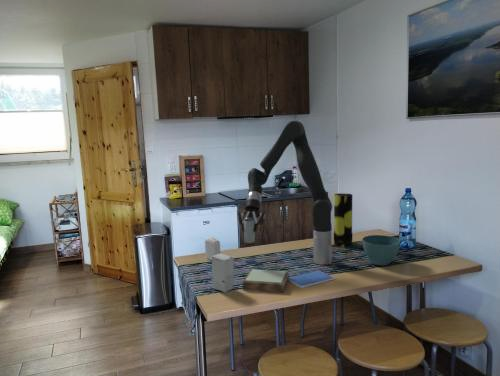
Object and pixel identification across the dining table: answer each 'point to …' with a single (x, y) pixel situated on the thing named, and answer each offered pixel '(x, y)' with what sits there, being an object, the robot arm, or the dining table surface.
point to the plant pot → (380, 248)
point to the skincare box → (222, 272)
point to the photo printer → (211, 247)
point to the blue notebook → (310, 279)
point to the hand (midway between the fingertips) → (248, 231)
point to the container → (343, 219)
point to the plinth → (266, 280)
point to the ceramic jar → (249, 230)
